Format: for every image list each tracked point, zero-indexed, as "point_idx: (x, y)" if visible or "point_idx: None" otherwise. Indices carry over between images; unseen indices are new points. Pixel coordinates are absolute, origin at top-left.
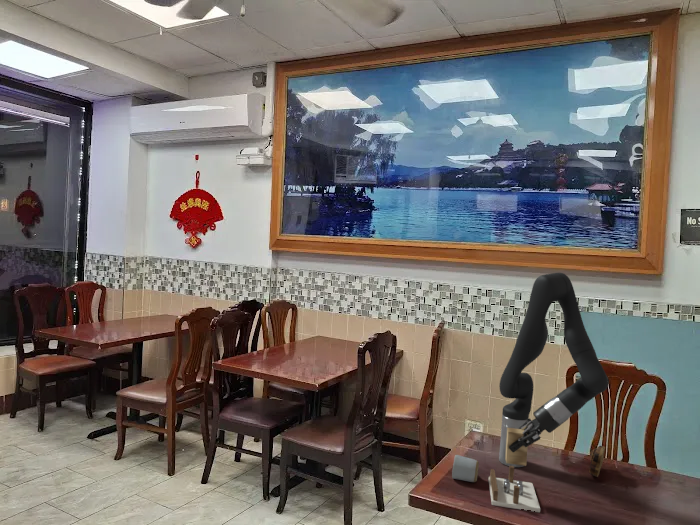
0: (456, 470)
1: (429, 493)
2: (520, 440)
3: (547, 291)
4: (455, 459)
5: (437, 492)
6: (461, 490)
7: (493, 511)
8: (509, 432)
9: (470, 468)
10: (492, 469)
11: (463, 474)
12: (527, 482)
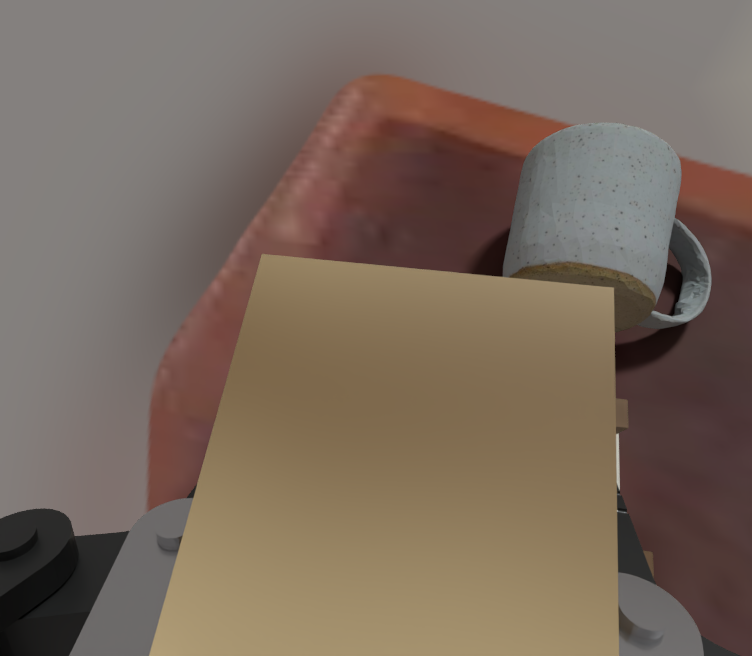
0: (520, 178)
1: (364, 114)
2: (29, 520)
3: None
4: (569, 131)
5: (380, 142)
6: (424, 243)
7: (223, 369)
8: (257, 285)
9: (520, 237)
10: (619, 411)
11: (511, 225)
12: None
